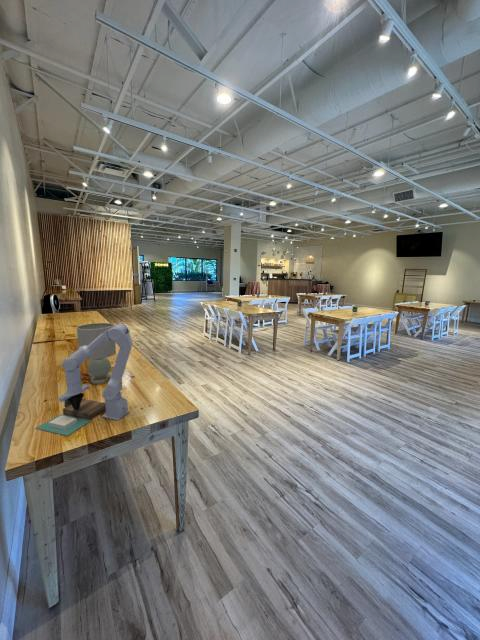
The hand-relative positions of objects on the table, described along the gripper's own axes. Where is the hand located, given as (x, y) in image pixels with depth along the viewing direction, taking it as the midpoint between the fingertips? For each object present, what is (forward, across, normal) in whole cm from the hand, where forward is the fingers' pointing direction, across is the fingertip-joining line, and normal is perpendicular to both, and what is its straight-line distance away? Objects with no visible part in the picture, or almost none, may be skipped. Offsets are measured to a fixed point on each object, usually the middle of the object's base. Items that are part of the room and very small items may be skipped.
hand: (76, 409), depth 125 cm
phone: (+4, -13, -17) cm, 22 cm away
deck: (+4, -5, 0) cm, 6 cm away
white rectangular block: (+3, +7, 0) cm, 8 cm away
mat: (+4, +7, 0) cm, 8 cm away
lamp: (+4, -38, -23) cm, 45 cm away
